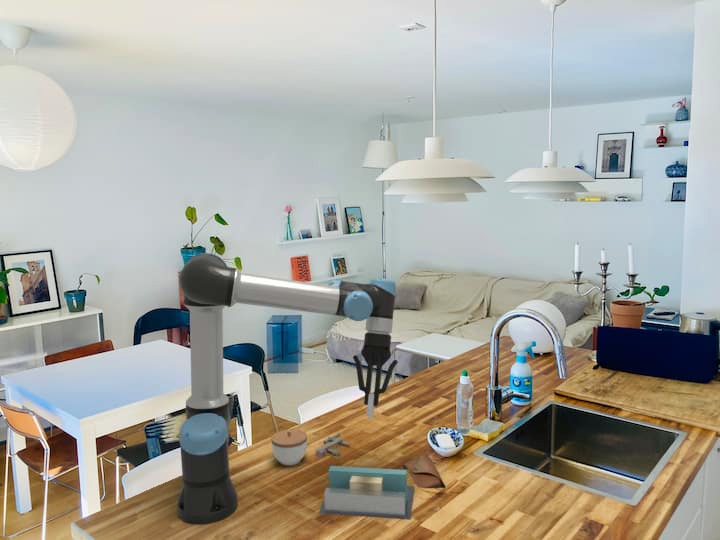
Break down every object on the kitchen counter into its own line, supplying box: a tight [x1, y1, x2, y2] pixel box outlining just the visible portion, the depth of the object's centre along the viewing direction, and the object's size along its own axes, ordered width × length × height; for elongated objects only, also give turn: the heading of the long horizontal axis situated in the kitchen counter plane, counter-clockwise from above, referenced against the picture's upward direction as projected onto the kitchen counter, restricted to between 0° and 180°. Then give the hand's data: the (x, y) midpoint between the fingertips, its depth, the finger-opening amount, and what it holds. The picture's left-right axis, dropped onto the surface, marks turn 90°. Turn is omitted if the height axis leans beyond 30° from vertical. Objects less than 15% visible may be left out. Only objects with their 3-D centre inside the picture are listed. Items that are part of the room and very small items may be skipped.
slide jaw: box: [328, 465, 408, 504], centre depth 150 cm, size 20×2×8 cm, turn 81°
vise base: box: [318, 485, 416, 520], centre depth 150 cm, size 23×16×6 cm
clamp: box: [315, 432, 350, 459], centre depth 183 cm, size 15×2×10 cm
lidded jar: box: [270, 428, 308, 466], centre depth 175 cm, size 11×11×9 cm
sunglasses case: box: [402, 451, 446, 489], centre depth 163 cm, size 18×7×7 cm, turn 9°
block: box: [350, 476, 383, 491], centre depth 147 cm, size 8×3×7 cm, turn 81°
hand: (369, 417), depth 162 cm, fingers closed
